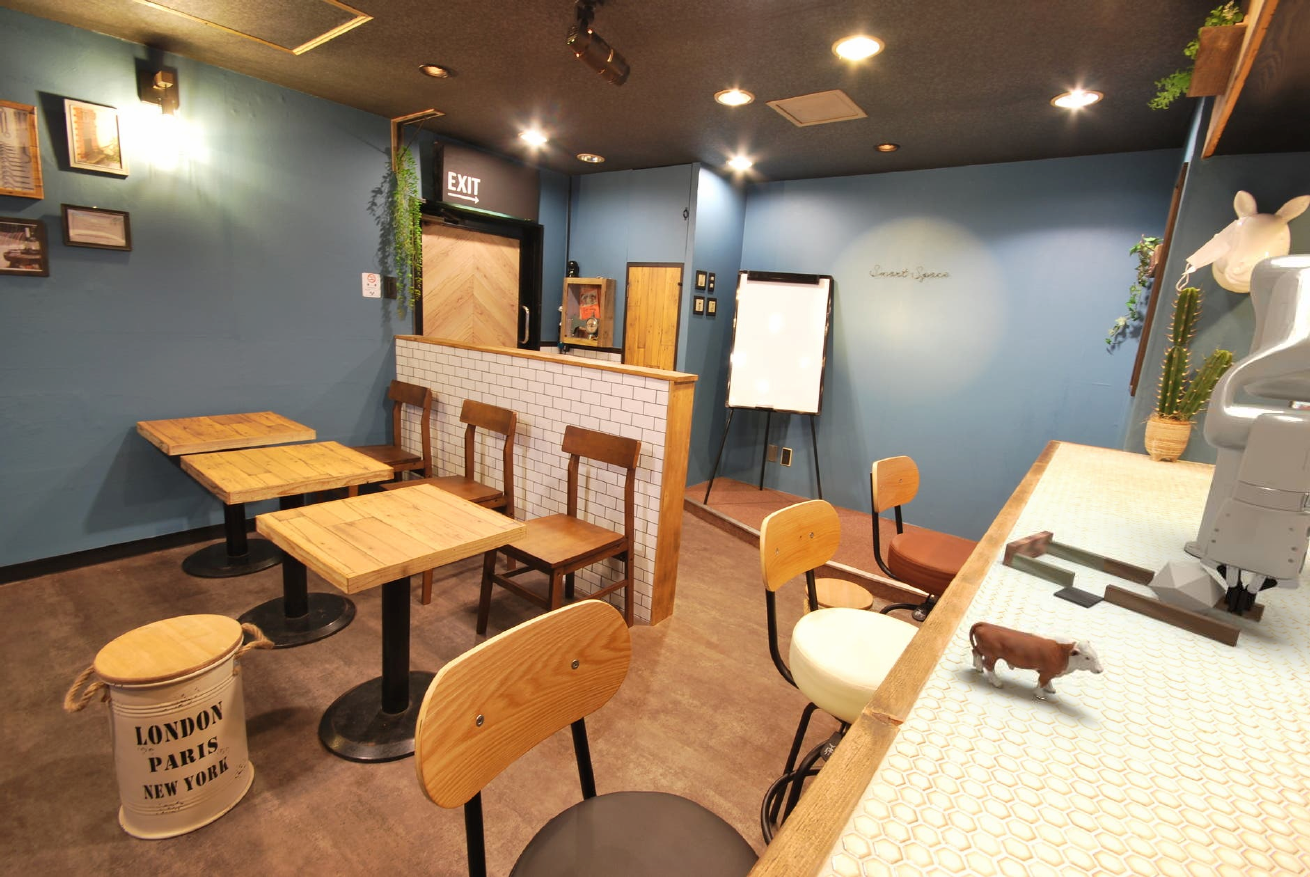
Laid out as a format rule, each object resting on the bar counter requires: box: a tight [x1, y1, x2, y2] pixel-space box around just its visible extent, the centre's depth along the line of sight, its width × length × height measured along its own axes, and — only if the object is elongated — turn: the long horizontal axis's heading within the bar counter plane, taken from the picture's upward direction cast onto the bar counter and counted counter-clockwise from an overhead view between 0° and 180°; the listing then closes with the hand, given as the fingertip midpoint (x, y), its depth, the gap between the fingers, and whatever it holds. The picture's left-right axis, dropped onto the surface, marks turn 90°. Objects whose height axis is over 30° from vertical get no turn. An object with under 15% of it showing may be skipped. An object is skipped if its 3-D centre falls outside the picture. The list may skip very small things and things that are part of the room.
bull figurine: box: [968, 621, 1105, 698], centre depth 70 cm, size 4×13×8 cm, turn 58°
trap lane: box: [1002, 530, 1266, 647], centre depth 101 cm, size 28×32×4 cm
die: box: [1147, 560, 1227, 616], centre depth 94 cm, size 8×9×10 cm
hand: (1236, 611), depth 90 cm, fingers closed
